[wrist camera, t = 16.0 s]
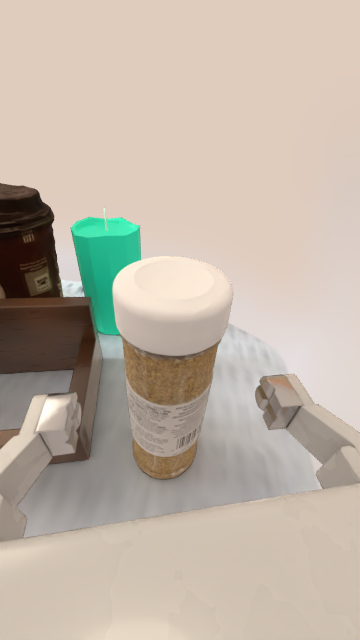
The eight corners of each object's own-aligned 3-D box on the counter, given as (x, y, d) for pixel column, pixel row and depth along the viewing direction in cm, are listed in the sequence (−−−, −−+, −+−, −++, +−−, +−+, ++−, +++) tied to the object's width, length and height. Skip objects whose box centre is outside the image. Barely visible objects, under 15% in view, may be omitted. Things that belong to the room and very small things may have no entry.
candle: (146, 331, 27) (143, 217, 19) (89, 338, 25) (62, 217, 18) (139, 301, 31) (135, 199, 24) (90, 305, 30) (69, 198, 22)
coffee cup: (-6, 356, 23) (-93, 206, 15) (-17, 311, 28) (-87, 181, 20) (87, 324, 27) (59, 195, 19) (63, 290, 32) (33, 177, 24)
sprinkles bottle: (175, 406, 20) (191, 246, 12) (209, 458, 17) (263, 291, 9) (121, 434, 18) (94, 262, 10) (149, 498, 15) (144, 330, 7)
